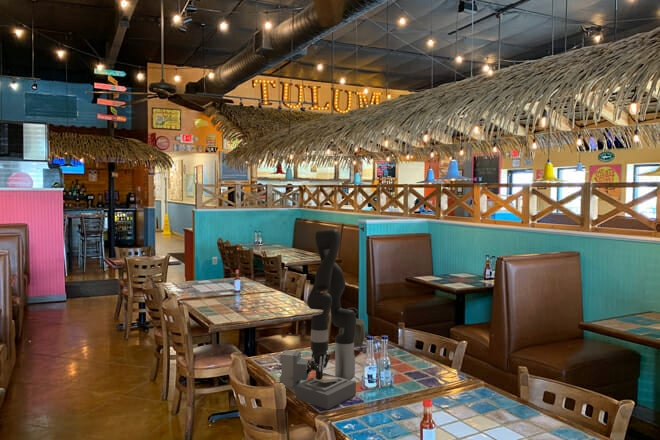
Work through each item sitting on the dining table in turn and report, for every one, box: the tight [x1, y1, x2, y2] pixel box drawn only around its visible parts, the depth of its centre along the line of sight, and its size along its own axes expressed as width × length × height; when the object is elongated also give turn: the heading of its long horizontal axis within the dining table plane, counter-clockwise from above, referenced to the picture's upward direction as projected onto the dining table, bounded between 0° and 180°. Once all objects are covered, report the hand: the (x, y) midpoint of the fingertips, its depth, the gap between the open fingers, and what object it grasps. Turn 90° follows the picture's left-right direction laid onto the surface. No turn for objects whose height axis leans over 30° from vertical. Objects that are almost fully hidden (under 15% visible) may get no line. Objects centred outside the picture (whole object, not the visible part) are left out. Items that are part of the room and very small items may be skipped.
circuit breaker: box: [279, 349, 313, 389], centre depth 236 cm, size 8×14×15 cm, turn 78°
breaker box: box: [295, 372, 357, 410], centre depth 222 cm, size 20×18×7 cm
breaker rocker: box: [313, 375, 338, 383], centre depth 222 cm, size 10×6×1 cm, turn 142°
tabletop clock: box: [338, 307, 366, 351], centre depth 290 cm, size 14×9×25 cm, turn 79°
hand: (319, 378), depth 218 cm, fingers closed
